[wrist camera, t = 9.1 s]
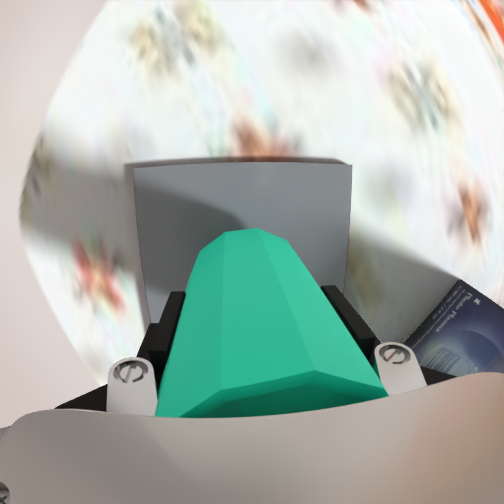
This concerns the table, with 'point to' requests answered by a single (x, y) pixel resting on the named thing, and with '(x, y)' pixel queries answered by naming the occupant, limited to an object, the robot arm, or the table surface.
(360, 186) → the table surface
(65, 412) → the robot arm
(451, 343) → the small box
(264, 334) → the candle
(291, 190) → the slate mat
